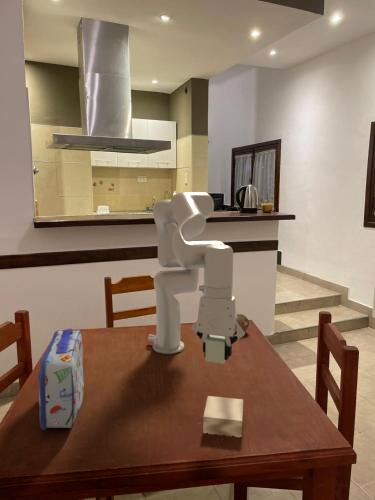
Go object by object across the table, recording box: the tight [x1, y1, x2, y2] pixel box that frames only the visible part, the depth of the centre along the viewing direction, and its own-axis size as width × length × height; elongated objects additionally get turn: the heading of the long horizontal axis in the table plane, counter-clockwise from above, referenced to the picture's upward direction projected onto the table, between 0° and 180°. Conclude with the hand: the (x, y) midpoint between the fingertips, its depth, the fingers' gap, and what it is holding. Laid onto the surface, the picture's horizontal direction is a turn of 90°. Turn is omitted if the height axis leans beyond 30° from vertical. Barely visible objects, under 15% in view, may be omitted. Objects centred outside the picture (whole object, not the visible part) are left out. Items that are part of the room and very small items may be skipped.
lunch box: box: [37, 328, 85, 431], centre depth 107 cm, size 28×10×22 cm, turn 12°
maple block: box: [202, 395, 244, 438], centre depth 101 cm, size 10×10×5 cm
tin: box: [234, 313, 250, 334], centre depth 166 cm, size 15×3×8 cm, turn 97°
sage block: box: [204, 335, 227, 365], centre depth 101 cm, size 5×5×6 cm
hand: (217, 355), depth 101 cm, fingers closed on sage block, 5 cm apart
